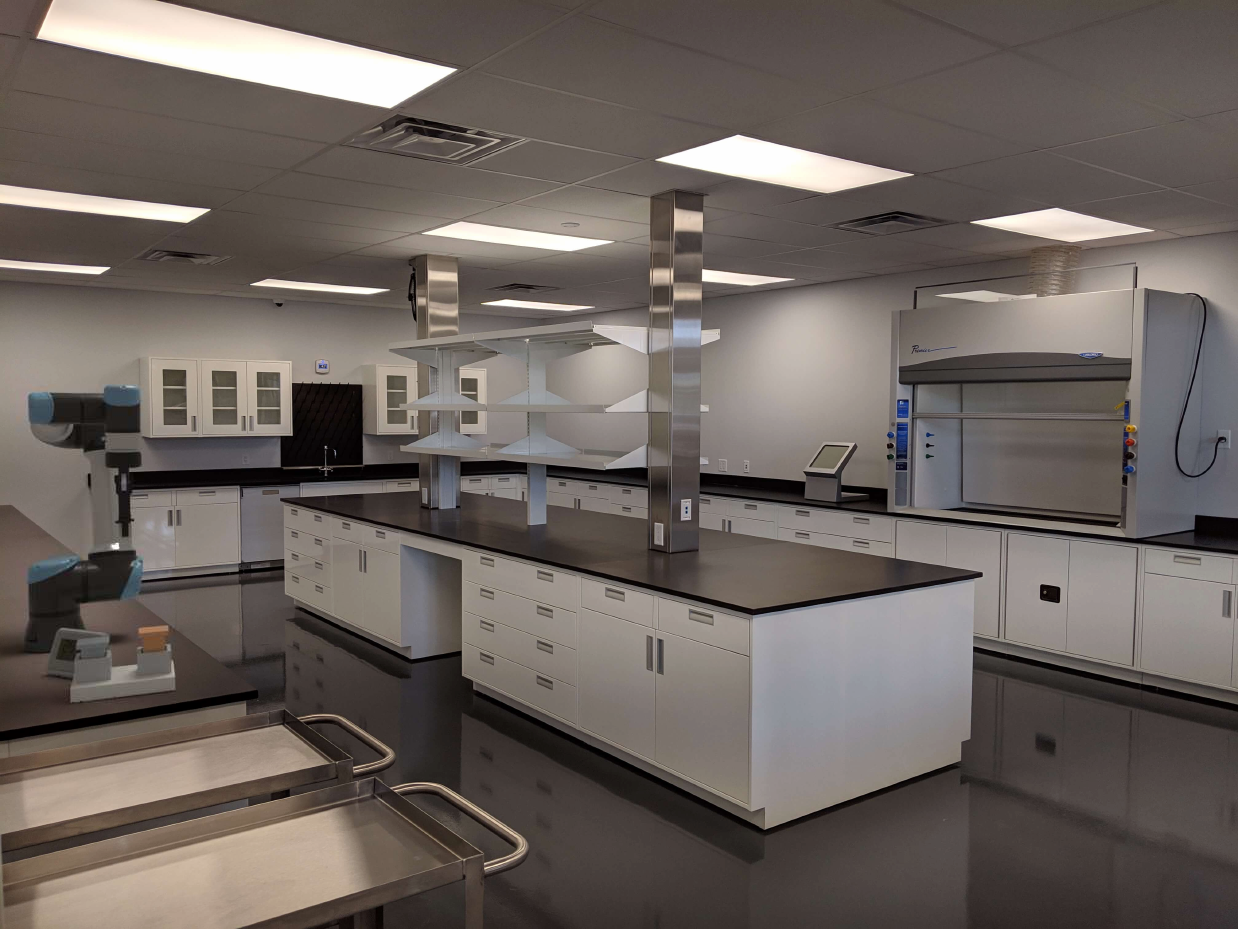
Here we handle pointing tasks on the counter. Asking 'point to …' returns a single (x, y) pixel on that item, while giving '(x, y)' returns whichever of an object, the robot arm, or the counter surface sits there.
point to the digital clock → (67, 650)
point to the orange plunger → (153, 638)
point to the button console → (122, 676)
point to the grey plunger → (92, 647)
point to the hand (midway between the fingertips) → (125, 549)
